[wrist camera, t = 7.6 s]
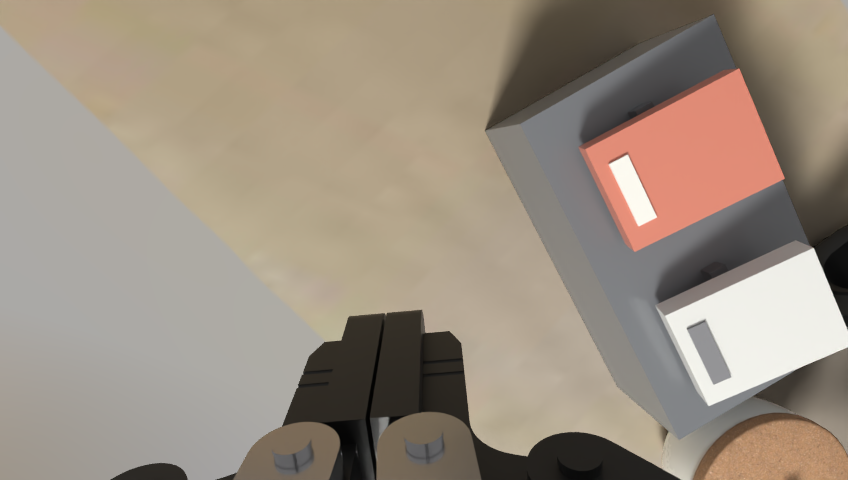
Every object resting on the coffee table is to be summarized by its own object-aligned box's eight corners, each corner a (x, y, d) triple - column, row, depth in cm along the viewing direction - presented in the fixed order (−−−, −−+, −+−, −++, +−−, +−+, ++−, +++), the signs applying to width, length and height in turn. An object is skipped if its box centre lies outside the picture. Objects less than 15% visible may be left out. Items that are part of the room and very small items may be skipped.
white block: (655, 305, 32) (666, 317, 30) (795, 240, 31) (815, 248, 29) (697, 391, 33) (709, 407, 31) (834, 332, 32) (855, 346, 30)
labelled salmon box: (578, 146, 30) (585, 149, 28) (723, 69, 29) (741, 68, 27) (625, 244, 31) (635, 252, 29) (767, 174, 30) (786, 179, 28)
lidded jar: (655, 524, 44) (736, 622, 35) (621, 401, 42) (696, 470, 33) (780, 475, 45) (892, 558, 35) (752, 352, 43) (862, 406, 34)
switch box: (484, 130, 38) (525, 123, 29) (639, 43, 38) (724, 9, 29) (617, 386, 42) (687, 447, 33) (755, 304, 42) (861, 343, 33)
